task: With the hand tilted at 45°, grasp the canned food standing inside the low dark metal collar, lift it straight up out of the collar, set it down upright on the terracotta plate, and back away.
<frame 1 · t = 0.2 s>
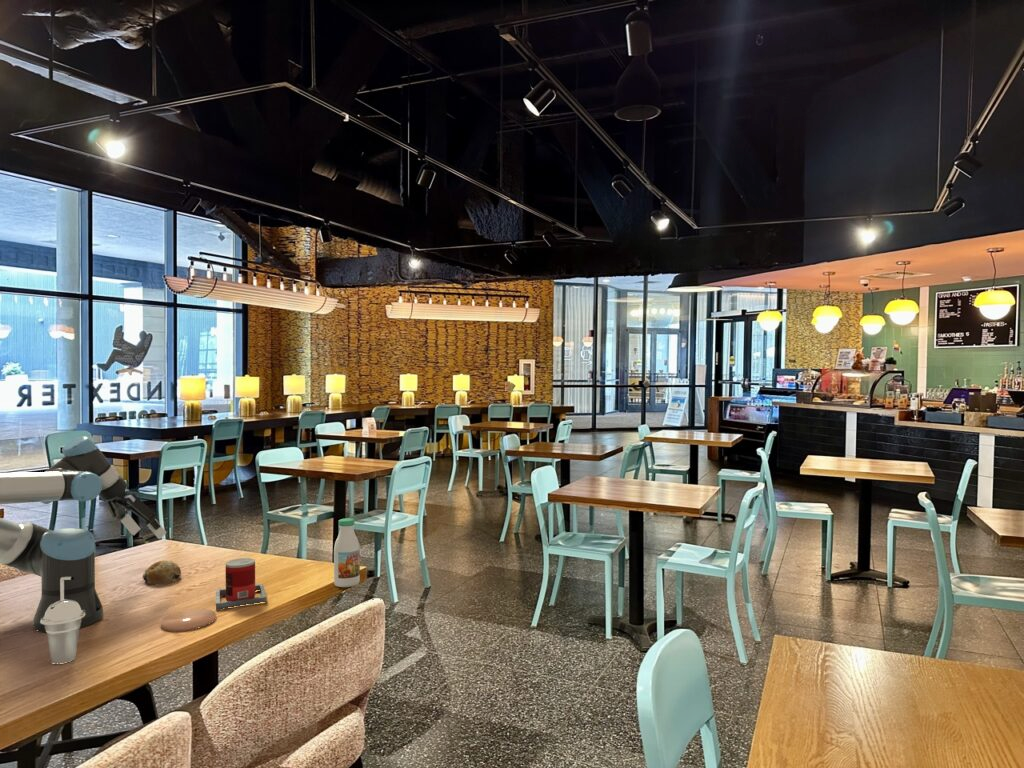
hand: (149, 533, 204), 16 cm above the table, tool tilted 35°, fingers open, 13 cm apart
milk bottle: (347, 584, 204), on the table
terracotta plate: (188, 621, 173), on the table
metal collar: (240, 599, 190), on the table
canned food: (240, 600, 190), resting in metal collar
cup with straw: (63, 662, 149), on the table
bread roll: (161, 581, 208), on the table
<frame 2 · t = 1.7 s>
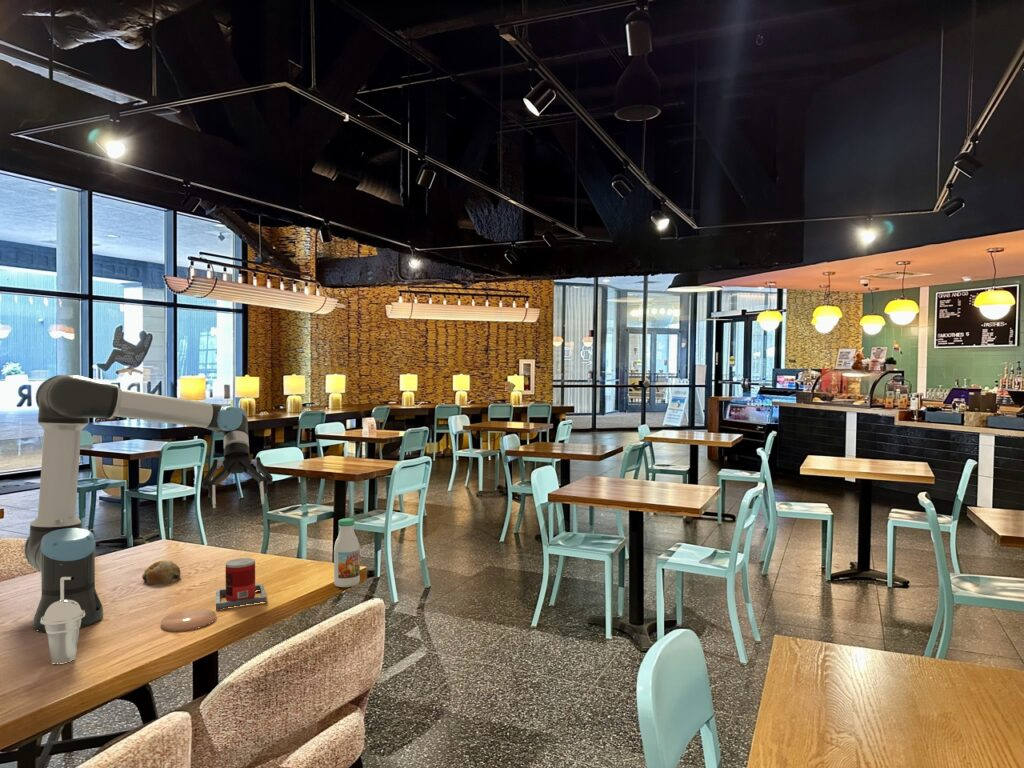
hand: (238, 503, 199), 26 cm above the table, tool tilted 45°, fingers open, 13 cm apart
nothing on the table moved.
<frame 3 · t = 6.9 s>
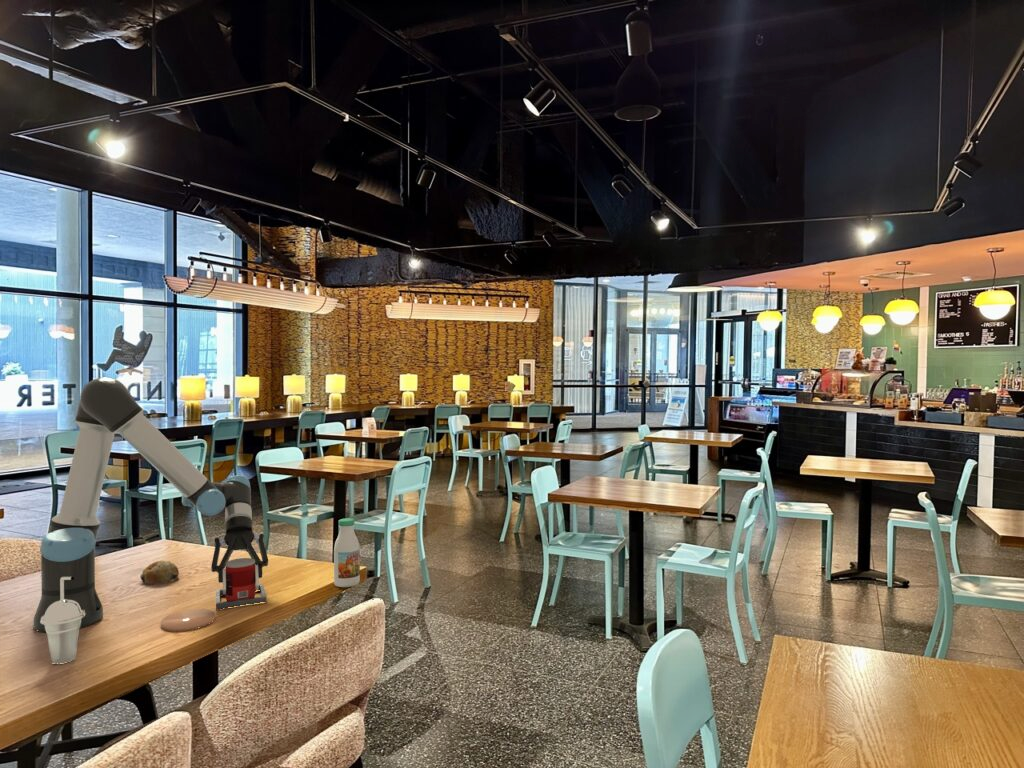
hand: (241, 589, 187), 4 cm above the table, tool tilted 45°, fingers closed on canned food, 8 cm apart
canned food: (240, 600, 190), resting in metal collar, touching gripper
everything else where it was.
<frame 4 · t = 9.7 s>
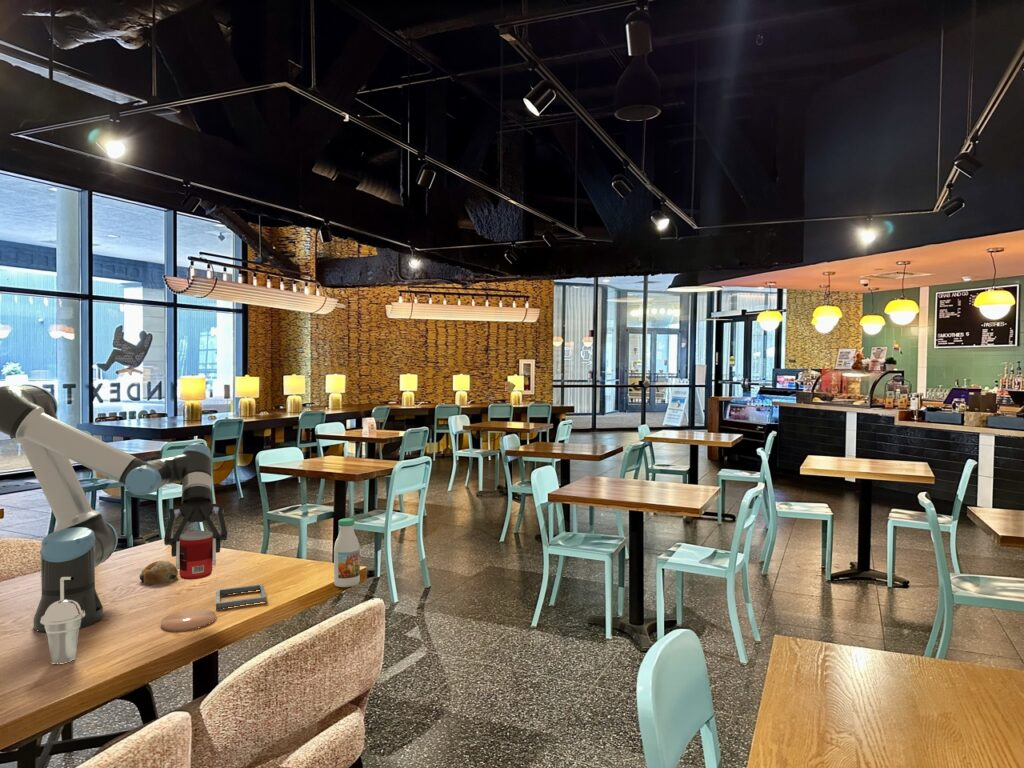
hand: (196, 564, 172), 15 cm above the table, tool tilted 45°, fingers closed on canned food, 8 cm apart
canned food: (196, 576, 175), point 11 cm above the table, touching gripper
everything else where it was.
when the fingers open (6 cm above the table, at t = 12.6 s): canned food drops 1 cm, resting on terracotta plate.
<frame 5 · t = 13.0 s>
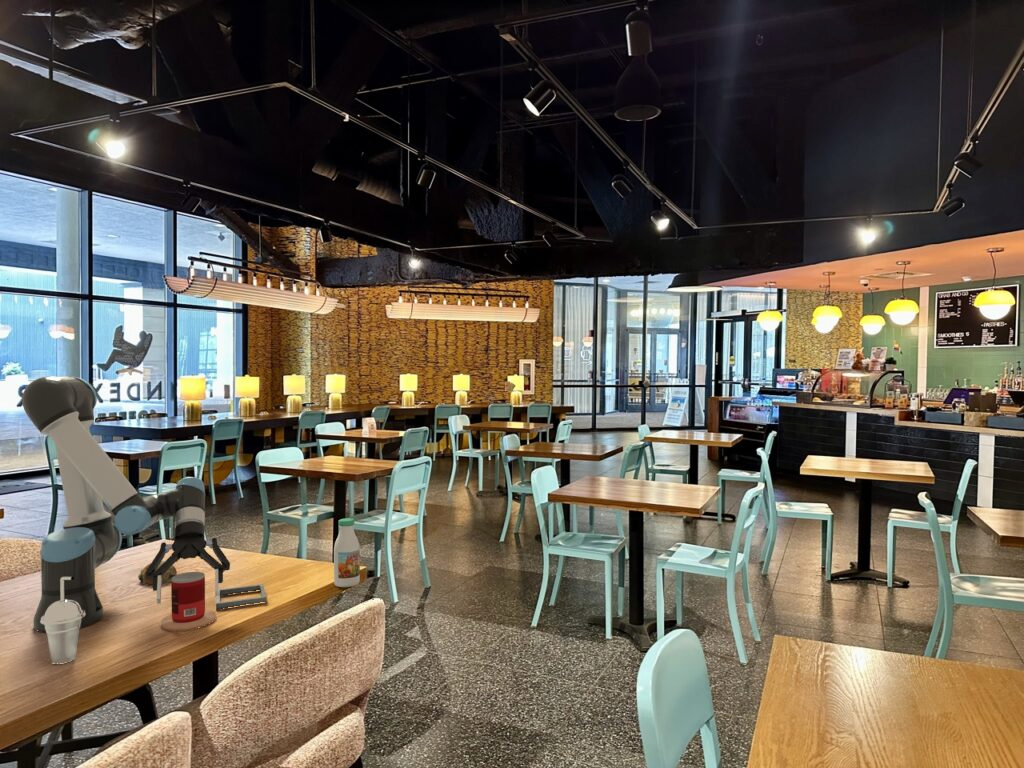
hand: (188, 597, 171), 7 cm above the table, tool tilted 45°, fingers open, 13 cm apart
canned food: (188, 618, 173), point 1 cm above the table, touching terracotta plate
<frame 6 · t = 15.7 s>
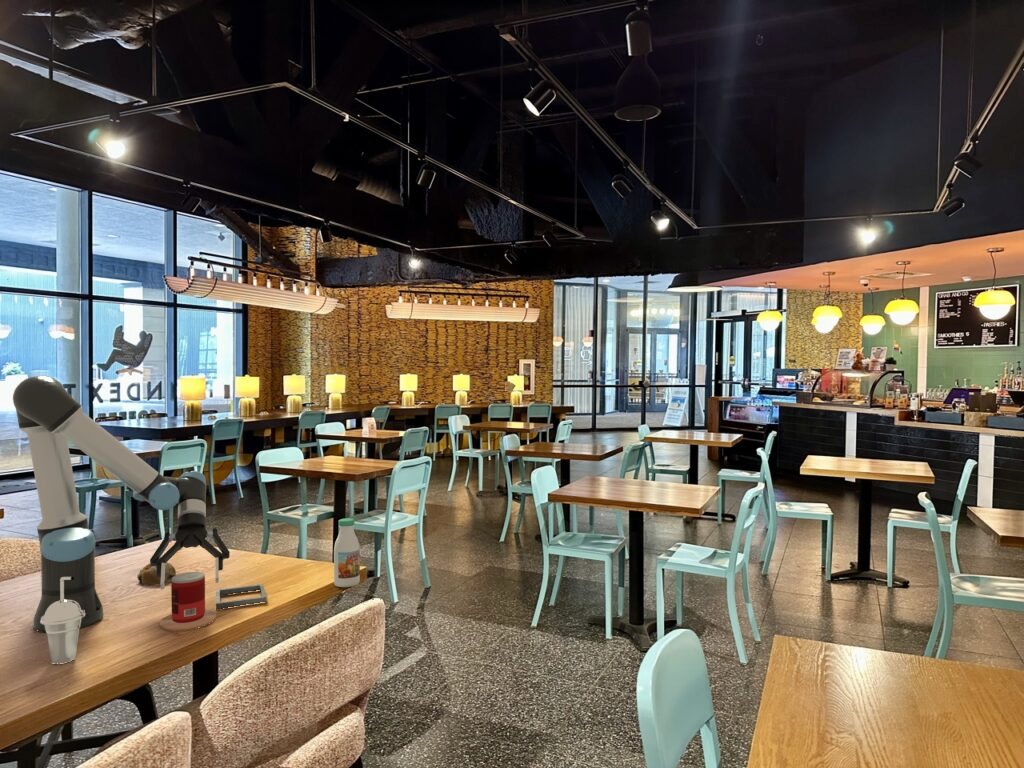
hand: (190, 583, 182), 7 cm above the table, tool tilted 45°, fingers open, 13 cm apart
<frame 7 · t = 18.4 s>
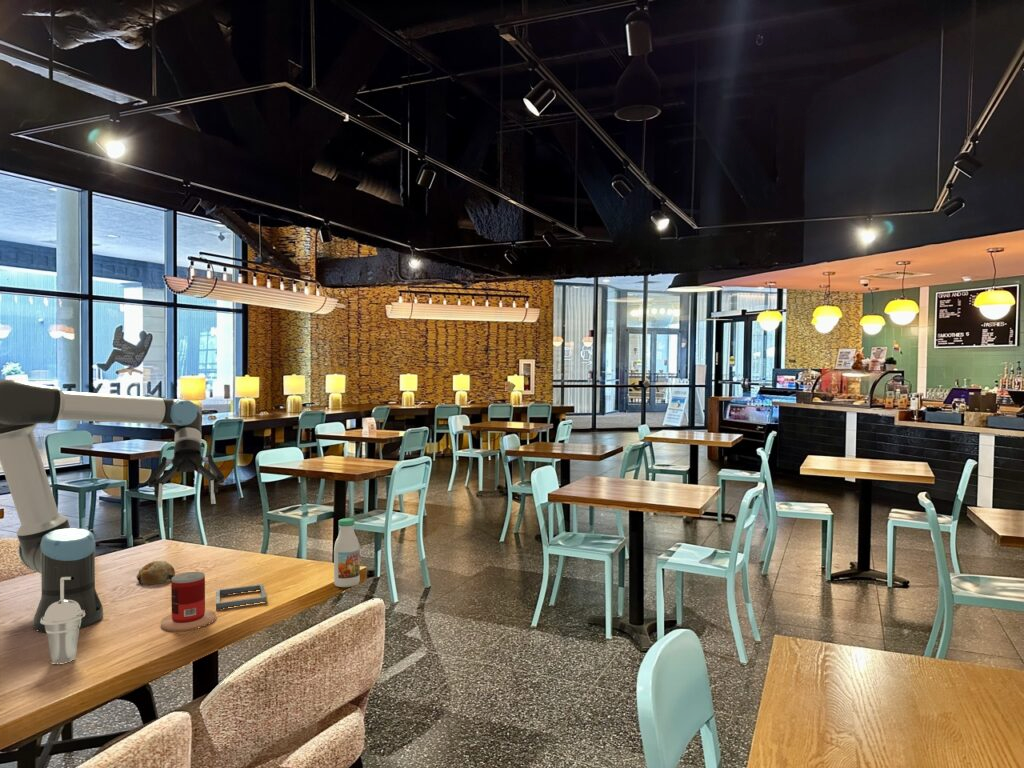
hand: (186, 503, 190), 28 cm above the table, tool tilted 45°, fingers open, 13 cm apart
at the end: canned food 0.1 cm off-centre on the terracotta plate, point 0.8 cm above the terracotta plate's base; canned food tilted 0°; the gripper is holding nothing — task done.
